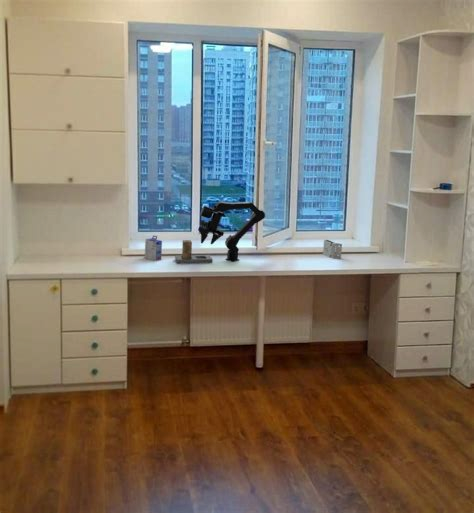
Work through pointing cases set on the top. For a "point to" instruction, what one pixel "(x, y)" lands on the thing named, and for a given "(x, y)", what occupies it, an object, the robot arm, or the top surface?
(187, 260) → the grey flat block
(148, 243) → the ink cartridge box
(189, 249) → the walnut peg
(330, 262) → the top surface
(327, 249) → the hinge
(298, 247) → the top surface
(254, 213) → the robot arm
